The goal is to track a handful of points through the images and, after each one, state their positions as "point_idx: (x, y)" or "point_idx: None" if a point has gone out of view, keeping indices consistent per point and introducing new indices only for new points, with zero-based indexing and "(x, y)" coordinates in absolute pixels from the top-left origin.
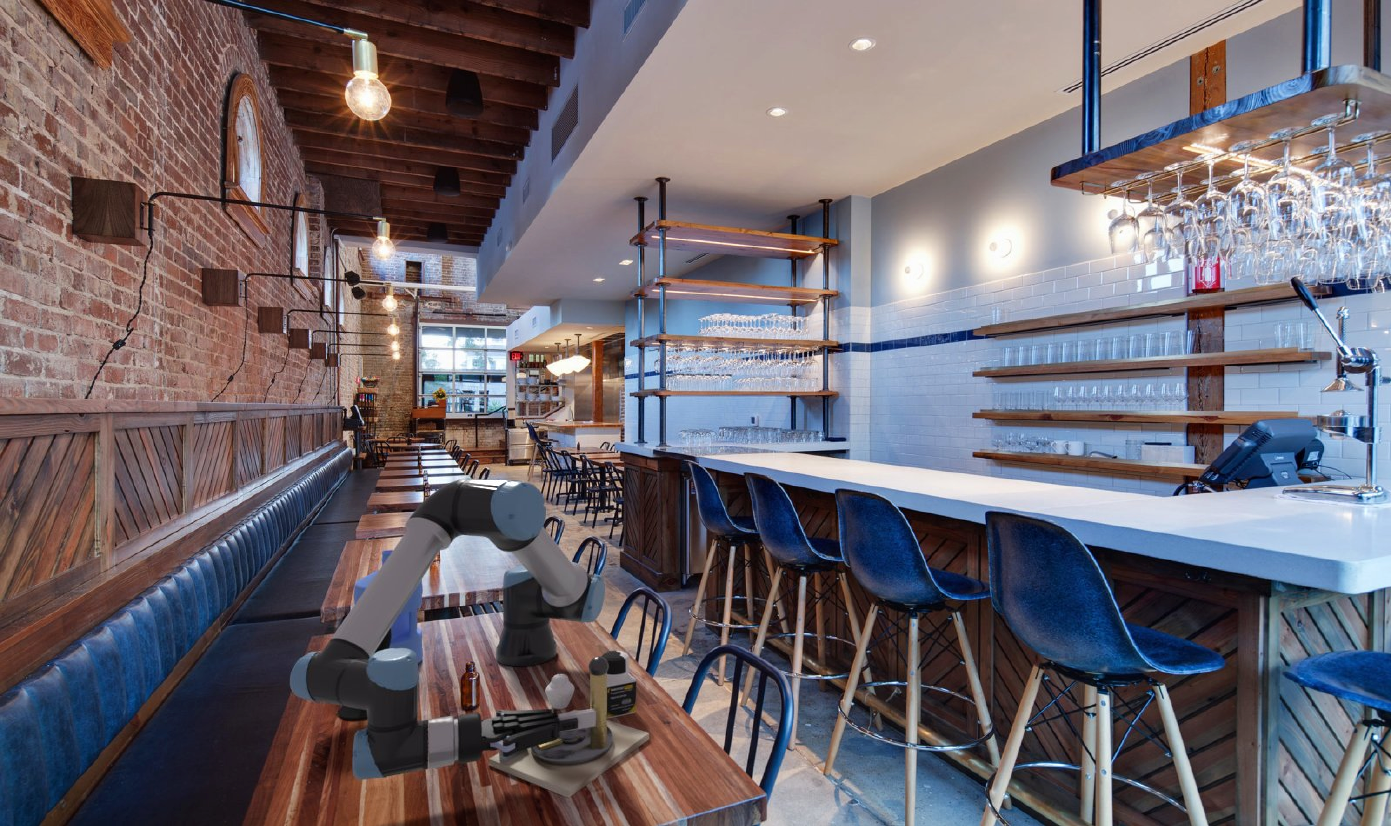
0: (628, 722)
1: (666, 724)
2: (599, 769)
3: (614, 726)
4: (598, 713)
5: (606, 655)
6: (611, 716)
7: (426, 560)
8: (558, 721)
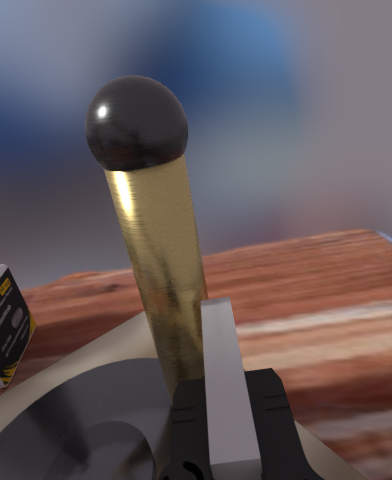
0: (63, 342)
1: (118, 289)
2: (296, 423)
3: (81, 361)
4: None
5: None
6: (14, 369)
7: None
8: (310, 475)
